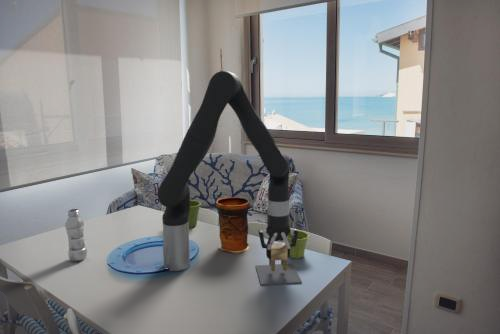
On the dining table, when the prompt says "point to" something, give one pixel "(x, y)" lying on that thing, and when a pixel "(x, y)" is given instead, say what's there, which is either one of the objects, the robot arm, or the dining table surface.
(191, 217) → the plant pot
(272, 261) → the notched wooden block
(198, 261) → the dining table surface
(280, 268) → the mat
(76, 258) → the plastic bottle
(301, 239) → the plant pot
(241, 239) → the vessel
